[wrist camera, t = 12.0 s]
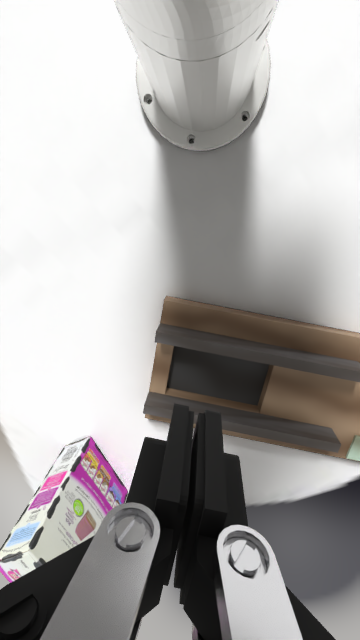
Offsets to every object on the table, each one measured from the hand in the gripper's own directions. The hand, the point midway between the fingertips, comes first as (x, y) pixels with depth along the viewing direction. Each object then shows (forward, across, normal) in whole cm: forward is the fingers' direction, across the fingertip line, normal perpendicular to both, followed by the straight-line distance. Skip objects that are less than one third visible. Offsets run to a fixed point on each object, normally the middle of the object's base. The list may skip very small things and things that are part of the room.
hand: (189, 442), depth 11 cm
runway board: (+27, -15, +10) cm, 33 cm away
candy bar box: (+27, +10, +30) cm, 42 cm away
